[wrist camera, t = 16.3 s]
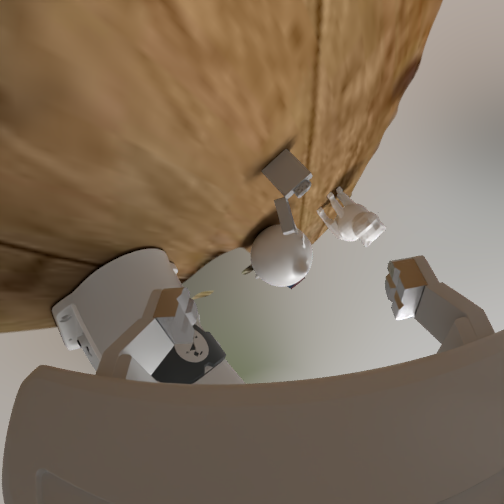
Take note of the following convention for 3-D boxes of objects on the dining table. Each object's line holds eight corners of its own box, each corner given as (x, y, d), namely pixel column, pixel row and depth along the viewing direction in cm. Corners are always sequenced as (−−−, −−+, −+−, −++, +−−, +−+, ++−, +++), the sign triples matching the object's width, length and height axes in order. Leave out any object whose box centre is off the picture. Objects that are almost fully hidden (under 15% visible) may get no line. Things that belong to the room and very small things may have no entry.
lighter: (286, 148, 31) (333, 196, 29) (289, 153, 33) (333, 199, 31) (242, 188, 33) (286, 238, 31) (247, 191, 34) (289, 238, 33)
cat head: (228, 246, 49) (272, 302, 46) (285, 200, 49) (331, 253, 46) (241, 258, 63) (275, 301, 61) (286, 222, 63) (320, 263, 61)
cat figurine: (338, 199, 86) (371, 238, 83) (314, 219, 87) (348, 260, 83) (350, 168, 62) (397, 220, 58) (319, 194, 62) (367, 249, 59)
